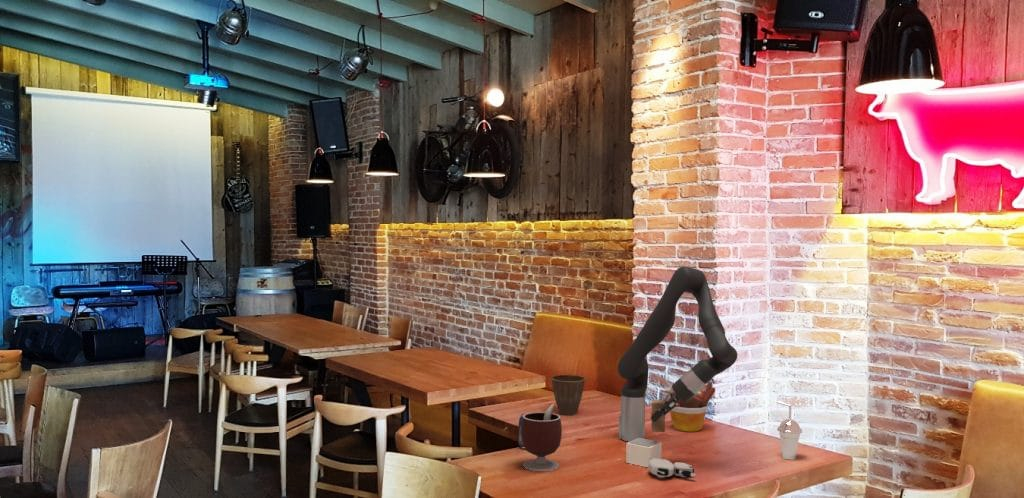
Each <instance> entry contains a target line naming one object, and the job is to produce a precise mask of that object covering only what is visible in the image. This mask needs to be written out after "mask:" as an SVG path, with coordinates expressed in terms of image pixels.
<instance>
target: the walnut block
mask: <svg viewBox="0 0 1024 498" xmlns="http://www.w3.org/2000/svg"><path fill="white" fill-rule="evenodd" d="M663 400H664V399H663ZM663 400H661V399H652V400H651V413H652V415H653V414H654V413H655V412H656V411H658V409H659V408H660V407H662V404H663V402H664V401H663ZM663 410H664V411H666V410H665V408H664V409H663ZM652 415H651V416H652ZM651 432H654V433H655V432H656V433H657V432H658V433H665V432H666V415H662V416H661V417H660V418H659V419H658V420H657V421H656V422H654V421H653V420H652V419H651Z"/></svg>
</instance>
